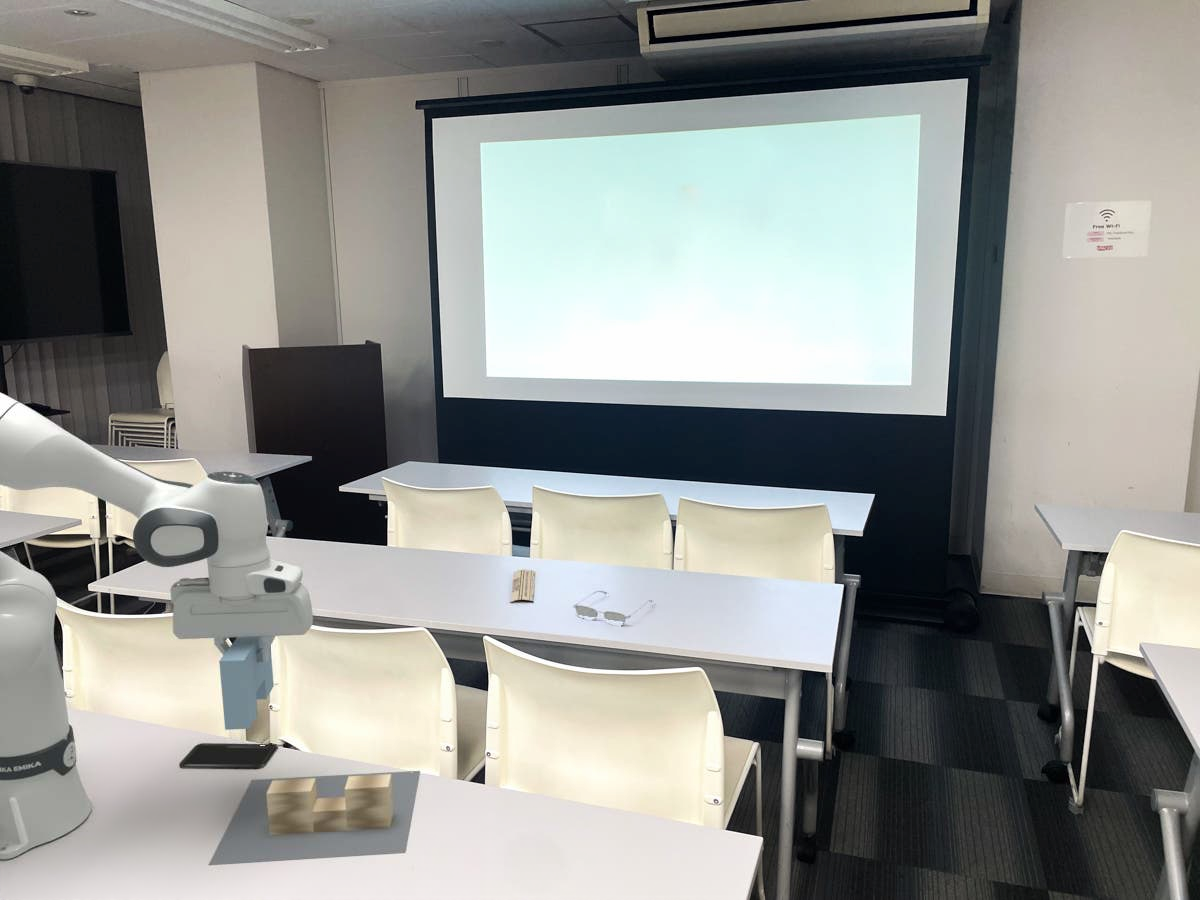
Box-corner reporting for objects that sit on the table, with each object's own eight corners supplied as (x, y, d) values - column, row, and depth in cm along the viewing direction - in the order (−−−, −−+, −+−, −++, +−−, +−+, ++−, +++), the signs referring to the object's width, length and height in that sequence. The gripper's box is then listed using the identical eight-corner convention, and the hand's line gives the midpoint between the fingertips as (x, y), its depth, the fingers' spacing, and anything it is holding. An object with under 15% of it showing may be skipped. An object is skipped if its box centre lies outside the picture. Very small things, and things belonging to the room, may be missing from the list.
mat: (208, 867, 128) (208, 865, 128) (251, 782, 150) (251, 779, 149) (405, 855, 131) (405, 852, 131) (420, 772, 152) (420, 770, 152)
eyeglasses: (572, 619, 221) (572, 603, 220) (606, 596, 237) (606, 581, 236) (628, 630, 214) (628, 614, 213) (658, 606, 230) (659, 591, 229)
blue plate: (225, 729, 133) (219, 661, 130) (251, 687, 146) (246, 624, 144) (249, 728, 133) (243, 660, 131) (273, 686, 147) (269, 623, 144)
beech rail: (269, 835, 135) (266, 793, 133) (275, 821, 138) (272, 780, 137) (390, 827, 137) (388, 786, 135) (393, 814, 140) (391, 774, 139)
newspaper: (533, 605, 231) (533, 599, 230) (506, 606, 230) (506, 599, 230) (535, 575, 254) (535, 569, 253) (510, 575, 253) (510, 569, 253)
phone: (262, 767, 153) (176, 766, 153) (263, 773, 153) (177, 772, 153) (280, 743, 160) (198, 742, 161) (280, 749, 161) (198, 748, 161)
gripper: (161, 585, 131) (169, 673, 134) (303, 581, 133) (308, 667, 136) (176, 571, 137) (184, 655, 140) (312, 568, 139) (317, 650, 142)
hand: (247, 661), depth 138 cm, fingers closed on blue plate, 3 cm apart
